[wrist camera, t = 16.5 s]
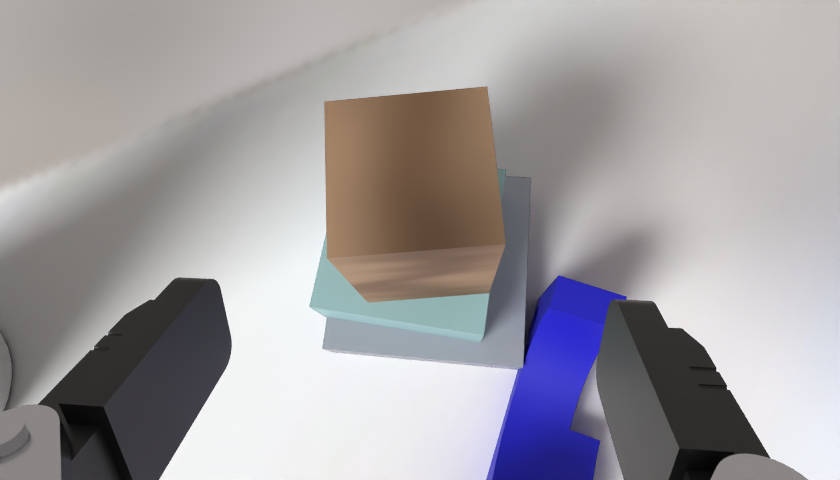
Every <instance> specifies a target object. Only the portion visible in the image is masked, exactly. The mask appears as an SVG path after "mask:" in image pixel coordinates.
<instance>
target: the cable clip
mask: <svg viewBox="0 0 840 480" xmlns="http://www.w3.org/2000/svg"><path fill="white" fill-rule="evenodd" d="M626 298H627V297H626V296H622V295H619V294H616V293H613V292H610V291H606V290H603V289H600V288H597V287H594V286H590V285H587V284H584V283H581V282H578V281H575V280H571V279H568V278H565V277H562V276H558V277H557V278H556V279H555V280H554V281H553V283H552V284H551V285H550V286H549V287H548V289H547V290H546V291H545V292H544V293H543V295H542V296H541V297H540V298H539V299H538V303H537V306H536V310H535V313H534V317H533V320H532V324H531V327H530V330H529V334H528V337H527V341H526V344H525V348H524V359H523V368H521V369H518V372H517V375H516V379H515V382H514V386H513V389H512V393H511V396H510V400H509V403H508V407H507V410H506V413H505V417H504V420H503V424H502V427H501V431H500V434H499V438H498V441H497V445H496V448H495V451H494V455H493V458H492V462H491V465H490V469H489V472H488V476H487V479H486V480H593V477H594V470H595V464H596V458H597V453H598V448H599V444H600V441H599V440H597V439H594V438H591V437H588V436H585V435H583V434H580V433H577V432H574V431H571V430H570V426H571V422H572V419H573V415H574V412H575V409H576V405H577V402H578V399H579V396H580V393H581V391H582V388H583V385H584V383H585V380H586V378H587V375H588V373H589V371H590V369H591V366H592V364H593V362H594V360H595V358H596V356H597V355H598V353H599V349H600V344H601V339H602V334H603V329H604V324H605V320H606V315H607V310H608V306H609V304H610V302H611V300H613V299H617V300H626Z"/></svg>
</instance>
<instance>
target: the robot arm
mask: <svg viewBox="0 0 840 480" xmlns="http://www.w3.org/2000/svg"><path fill="white" fill-rule="evenodd" d="M231 347H232V342H231V335H230V330H229V326H228V321H227V316H226V312H225V307H224V303H223V298H222V294H221V289H220V286H219V284H218V282H217V281H216V280H214V279H200V278H176V279H174V280H173V281H172V282H171V283H170V284H169V285H168V286H167V287H166V288H165V289H164V290H163V291H162V293H161V294H160V295H159V296H158V297H157V298H156V299H155V300H149V301H147V302H145V303H144V304H142V305H140V306H139V307H137V308H135V309H134V310H132V311H130V312H129V313H127V314H125V315H124V317H123V318H122V319H121V320H120V321H119V322H118V323H117V324H116V325H115V326H114V327H113V328H112V329H111V330H110V331H109V334H108V336H106V335H105V336H104V337H103V338H102V339H101V340H100V341H99V342H98V343H97V344H96V345H95V346H94V350H90V351H89V352H88V353H87V354H86V356H85V357H84V358H83V359H82V360H81V361H80V362H79V363H78V364H77V365H76V366H75V367H74V368H73V369H72V370H71V371H70V372H69V373H68V374H67V375H66V376H65V377H64V378H63V379H62V380H61V381H60V382H59V383H58V384H57V385H56V386H55V387H54V388H53V389H52V390H51V391H50V392H49V393H48V394H47V396H46V397H45V398H44V399H43V400H42V401H41V402H40V403H39V404H38V405H25V406H20V407H16V408H12V409H9V410H6V411H4V408H5V405H6V403H7V400H8V397H9V392H10V386H11V381H12V363H11V358H10V353H9V349H8V346H7V344H6V342H5V340H4V338H3V336H2V334H1V332H0V480H159V479H160V477H161V475H162V474H163V472H164V470H165V469H166V467H167V465H168V464H169V462H170V460H171V459H172V457H173V455H174V454H175V452H176V450H177V449H178V447H179V445H180V444H181V442H182V440H183V439H184V437H185V435H186V434H187V432H188V430H189V429H190V427H191V425H192V424H193V422H194V420H195V419H196V417H197V415H198V414H199V412H200V410H201V409H202V407H203V405H204V404H205V402H206V400H207V399H208V397H209V395H210V394H211V392H212V390H213V389H214V387H215V385H216V384H217V382H218V380H219V379H220V377H221V376H222V374H223V372H224V371H225V369H226V367H227V365H228V362H229V359H230V355H231ZM596 378H597V387H598V392H599V396H600V399H601V402H602V406H603V409H604V413H605V416H606V419H607V423H608V426H609V430H610V433H611V437H612V440H613V443H614V447H615V450H616V454H617V457H618V461H619V464H620V467H621V471H622V474H623V478H624V480H808V479H806V478H805V477H804V476H803V475H801V474H800V473H798V472H797V471H795V470H794V469H792V468H790V467H788V466H786V465H785V464H783V463H780V462H778V461H776V460H773V459H770V457H769V455H768V454H767V452H766V450H765V448H764V447H763V445H762V443H761V442H760V440H759V438H758V437H757V435H756V433H755V432H754V430H753V428H752V427H751V425H750V423H749V422H748V420H747V418H746V417H745V415H744V413H743V412H742V410H741V408H740V407H739V405H738V403H737V402H736V400H735V398H734V397H733V395H732V393H731V392H730V390H727V385H726V383H725V382H724V380H723V378H722V377H721V375H720V373H719V372H716V366H715V365H714V363H713V361H712V360H711V358H710V356H709V355H708V353H707V351H706V350H705V348H704V347H703V346H702V345H701V344H700V343H698V342H697V341H696V340H695V339H694V338H693V337H691V336H690V335H689V334H688V333H687V332H685V331H684V330H683V329H681V328H668V326H667V325H666V323H665V321H664V319H663V317H662V315H661V313H660V311H659V310H658V308H657V306H656V304H655V303H654V302H652V301H638V300H617V299H613V300H611V302H610V304H609V306H608V310H607V315H606V320H605V324H604V329H603V334H602V339H601V344H600V349H599V353H598V358H597V367H596Z"/></svg>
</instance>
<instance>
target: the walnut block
mask: <svg viewBox="0 0 840 480" xmlns="http://www.w3.org/2000/svg"><path fill="white" fill-rule="evenodd" d="M325 164H326V228H327V259H328V260H329V261H330V262H331V263H332V264H333V266H334V267H335V268H336V269H337V270H338V271H339V272H340V273H341V274H342V275H343V276H344V277H345V279H346V280H347V281H348V282H349V283H350V284H351V285H352V286H353V287H354V288H355V289H356V290H357V292H358V293H359V294H360V295H361V296H362V297H363V298H364V299H365V300H366V301H367V302H368V303H370V302H383V301H396V300H409V299H422V298H435V297H448V296H461V295H474V294H487V293H489V291H490V289H491V286H492V283H493V280H494V277H495V274H496V271H497V268H498V265H499V262H500V260H501V257H502V254H503V251H504V248H505V245H506V241H505V232H504V224H503V216H502V207H501V199H500V190H499V182H498V174H497V165H496V157H495V148H494V140H493V132H492V123H491V115H490V107H489V98H488V90H487V87H477V88H466V89H456V90H445V91H434V92H423V93H413V94H402V95H391V96H380V97H370V98H359V99H348V100H337V101H327V102H325Z"/></svg>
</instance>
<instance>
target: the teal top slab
mask: <svg viewBox="0 0 840 480" xmlns="http://www.w3.org/2000/svg"><path fill="white" fill-rule="evenodd" d="M497 174H498V182H499V190H500V199H501V204H502V196H503V189H504V182H505V174H506V170H501V169H497ZM489 293H490V291H489ZM489 293H487V294H474V295H461V296H448V297H435V298H422V299H409V300H396V301H383V302H370V303H368V302H367V301H366V300H365V299H364V298H363V297H362V296H361V295H360V294H359V293H358V292H357V290H356V289H355V288H354V287H353V286H352V285H351V284H350V283H349V282H348V281H347V280H346V279H345V277H344V276H343V275H342V274H341V273H340V272H339V271H338V270H337V269H336V268H335V267H334V266H333V264H332V263H331V262H330V261H329V260H328V259H327V232H326V237H325V241H324V245H323V250H322V254H321V258H320V263H319V267H318V271H317V276H316V280H315V284H314V289H313V293H312V297H311V302H310V306H309V307H310V308H312V309H314V310H315V311H317V312H318V313H320V314H322V315H323V316H325V317H331V318H337V319H343V320H349V321H355V322H361V323H367V324H373V325H379V326H386V327H392V328H398V329H404V330H410V331H416V332H422V333H428V334H434V335H440V336H446V337H452V338H458V339H464V340H470V341H476V342H481V340H482V338H483V336H484V330H485V323H486V315H487V308H488V300H489Z"/></svg>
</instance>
